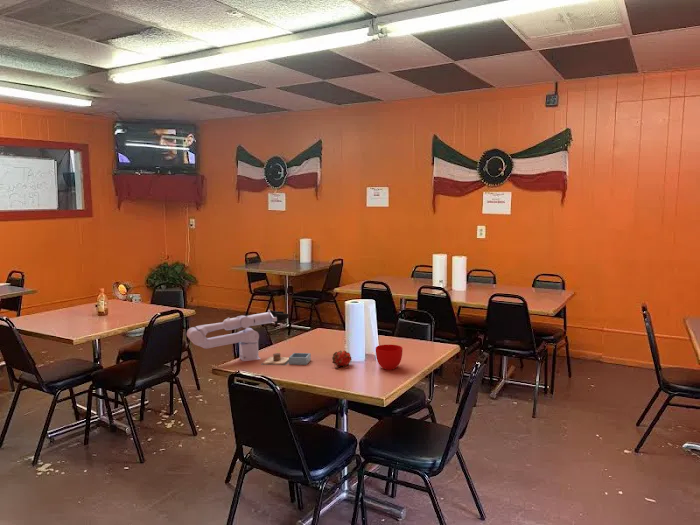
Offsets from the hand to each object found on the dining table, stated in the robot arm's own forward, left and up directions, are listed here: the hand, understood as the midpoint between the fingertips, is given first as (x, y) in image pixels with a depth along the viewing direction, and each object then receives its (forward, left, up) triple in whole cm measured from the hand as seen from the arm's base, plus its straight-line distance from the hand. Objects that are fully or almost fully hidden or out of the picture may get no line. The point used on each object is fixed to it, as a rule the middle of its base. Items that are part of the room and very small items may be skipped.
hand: (285, 314), depth 289 cm
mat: (-9, -12, -22) cm, 27 cm away
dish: (0, -19, -22) cm, 29 cm away
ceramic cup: (+37, -47, -22) cm, 64 cm away
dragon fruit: (+17, -34, -22) cm, 44 cm away
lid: (-9, -12, -21) cm, 26 cm away
